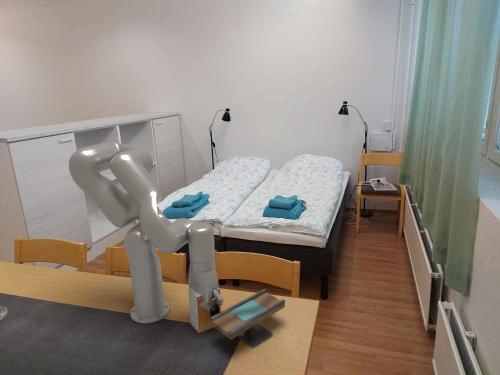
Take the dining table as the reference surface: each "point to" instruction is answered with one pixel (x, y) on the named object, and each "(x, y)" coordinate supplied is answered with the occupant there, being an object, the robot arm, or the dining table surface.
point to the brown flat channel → (246, 313)
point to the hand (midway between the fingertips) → (206, 311)
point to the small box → (200, 311)
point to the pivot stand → (255, 335)
